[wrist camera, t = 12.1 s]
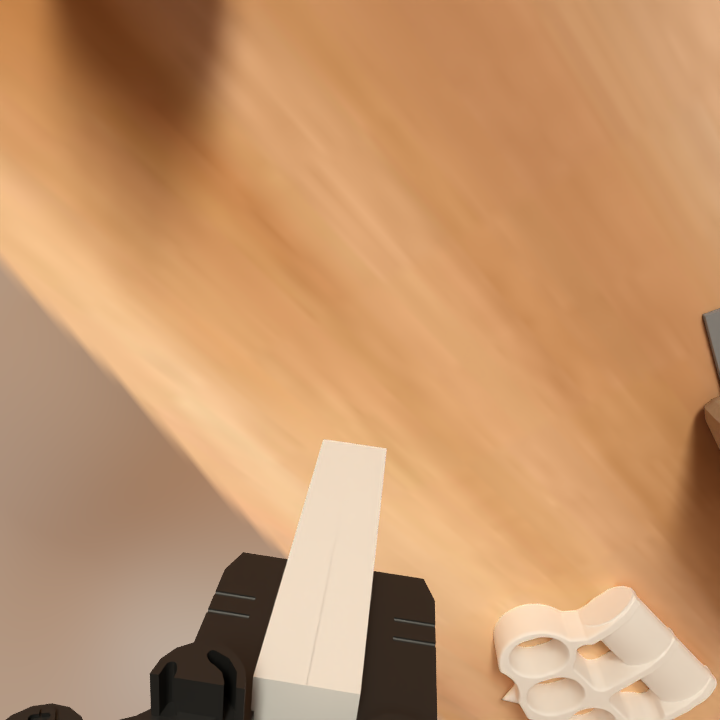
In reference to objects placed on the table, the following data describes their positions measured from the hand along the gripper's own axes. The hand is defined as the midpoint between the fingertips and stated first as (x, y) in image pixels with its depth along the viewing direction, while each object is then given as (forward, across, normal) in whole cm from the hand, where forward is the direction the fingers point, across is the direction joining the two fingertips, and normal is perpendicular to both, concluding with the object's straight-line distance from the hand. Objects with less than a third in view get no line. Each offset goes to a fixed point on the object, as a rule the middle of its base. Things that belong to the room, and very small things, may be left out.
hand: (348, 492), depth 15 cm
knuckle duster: (+28, +21, -33) cm, 48 cm away
